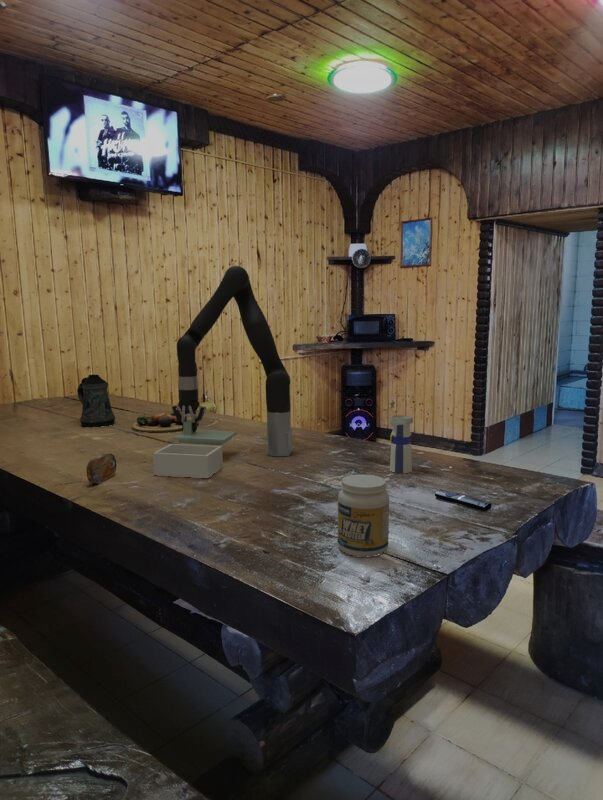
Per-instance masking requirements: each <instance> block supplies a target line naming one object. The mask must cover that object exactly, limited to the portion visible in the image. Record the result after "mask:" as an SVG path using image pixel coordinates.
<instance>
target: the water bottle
mask: <svg viewBox="0 0 603 800" xmlns="http://www.w3.org/2000/svg"><path fill="white" fill-rule="evenodd" d="M395 404H396V402H395V401H394V399H392V400H391V403H389V405H390V410H391V409H394V408H395V407H394V405H395ZM413 423H414V417H413V416H411V415H404V414H403V415H402V414H399V415H398V414H396V415H393V416H392V417H390V419H389V424H390V427H392V431H391V433H390V437H389V439H390V440H389V443H390V444H391V445H390V459H389V460H390V462H389V472H390V471H392V472H396V473H408V472H411V471H412V472H413V469H412V468H413V465H412V463H413V461H412V444H411V437H412V433H411V424H413ZM392 472H391V473H392ZM412 472H411V473H412ZM396 473H395V474H396ZM408 474H409V473H408Z"/></svg>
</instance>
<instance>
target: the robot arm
mask: <svg viewBox="0 0 603 800" xmlns="http://www.w3.org/2000/svg"><path fill="white" fill-rule="evenodd" d="M232 299H234V300H235V303H236V305H237V308H238V311H239V315H240V319H241V323H242V326H243V330H244V333H245V335H246V337H247V339H248V341H249V344H250V345H251V347H252V349H253V351H254V352H255V354H256V356H257V357H258V359H259V360H260V361H261V365H262V366H263V370H264V374H265V377H266V379H265V404H266V435H267V437H266V438H267V440H266V441H267V444H266V445H267V449H266V450H267V455H268V456H271V457H290V456H291V455H292V453H293V429H292V428H291V427H292V425H291V423H292V422H291V420H292V419H291V395H290V393H291V392H290V390H291V386H290V385H291V377H290V375H289V373H288V371H287V369H286V367H285V365H284V363H283V362H282V360H281V356H280V355H279V352H278V349H277V346H276V345H277V344H276V343H275V339H274V336H273V333H272V331H271V328H270V325H269V323H268V320H267V318H266V317H265V314H264V312H263V310H262V309H261V307H260V305H259V304H258V301H257V300H256V297H255V293H254V291H253V289H252V284H251V280H250V276H249V273H248V271H247V270H246V268H243V267H242V266H241V265H233V266H232V265H231V266H230V267H228V269H226V271H225V273H224V275H223V277H222V279H221V281H220V283H219V284H218V287H217V288H216V290H215V291H214V293H213V294H212V296H211V297H210V298H209V300H208V302H206V304H204V306H203V307H202V308H201V310H200V311H199V312H198V314H197V315H196V316H195V318H194V319H193V320H192V322H191V323H190V326H189V327H188V329H187V330H186V331H185V333H184V334H183V335H182V336H180V338H178V339H177V342H176V355H177V362H178V366H177V367H178V381H177V388H178V403H177V404H176V405H173V406H172V407H171V409H172V412H174V414H175V416H176V418H177V420H178V421H181V422H182V429H183V430H184V428H183V422H185V421H187V417H191V418H192V422H193V423H192V432H196V430H198V425H197V422H198V423H199V422H200V421H202V420H203V416H204V414H205V413H206V411H207V407H206V406H203V405H200V401H199V379H198V366H197V362H196V350H197V348H198V346H199V345H200V344H201V342H202V341H203V339H204V338H205V337H206V335H207V334H208V333H209V332H210V331H211V329H212V328H213V326H214V325H215V323H217V321H218V319H219V318H220V316H221V314H222V313H223V312H224V309H225V308H226V307H227V305H228V303H229V302H231V300H232ZM179 408H180V409H181V410H182V415H181V413H180V411H179ZM197 411H199V412H198V414H197ZM188 415H190V416H188Z"/></svg>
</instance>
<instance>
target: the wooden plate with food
mask: <svg viewBox="0 0 603 800" xmlns="http://www.w3.org/2000/svg"><path fill="white" fill-rule="evenodd" d="M179 411H180V413H181V415H182V410H181V409H180V408H179ZM187 420H192V418H191V416H187ZM198 425H199V421H198V422H197V426H198ZM131 429H132V430H133V431H134V430H136V431H135V432H138V431H141V432H140V433H143V432H148V433H147V434H168V432H170V433H176V432H177V431H178V432H182V431H183V429H182V422H181V421H178V420H177V418H176V416H175V414H174V411H172V412H171V414H170V413H166V412H161V413H159V414H156V415H151V416H146V414H144V415H139V416H138V417H137V418H136V421H135V422H134V423H133V424H132V425H131ZM178 432H177V433H178ZM183 432H184V431H183Z"/></svg>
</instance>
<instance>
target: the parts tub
mask: <svg viewBox="0 0 603 800" xmlns="http://www.w3.org/2000/svg"><path fill="white" fill-rule="evenodd" d="M152 458H153V459H152V461H153V476H154V475H157V477H168V476H171V477H173V478H184V477H191V478H190V479H201V478H209V477H210V478H211V477H213V476H214V475H215V474H216V472H217V471H218V472H219V471H221V470H222V469H223V468H224V463H223V460H224V459H223V445H208V444H186V443H179V444H178V443H169V444H167V445H166V446H164V447H162V448H159V449H158V450H156V451H154V452H153V453H152ZM221 468H222V469H221ZM220 469H221V470H220ZM218 472H217V473H218ZM214 473H215V474H214ZM213 474H214V475H213ZM212 475H213V476H212ZM171 477H170V478H171ZM210 478H209V479H210Z"/></svg>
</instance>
